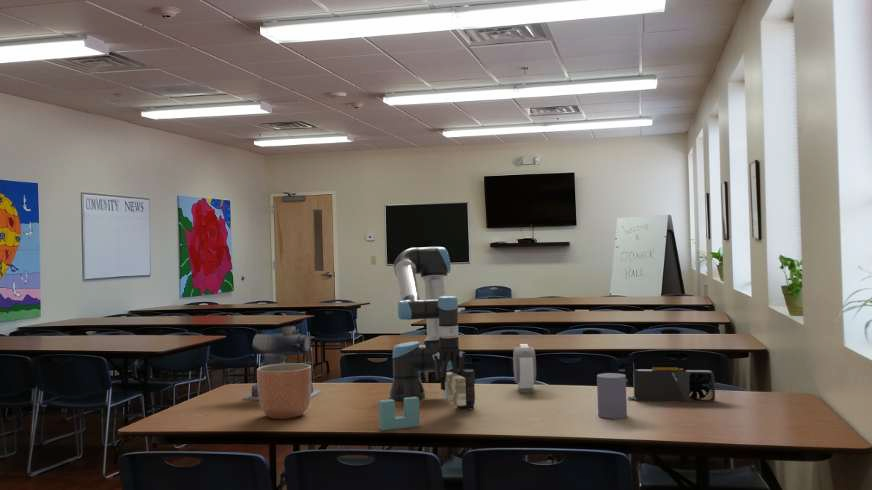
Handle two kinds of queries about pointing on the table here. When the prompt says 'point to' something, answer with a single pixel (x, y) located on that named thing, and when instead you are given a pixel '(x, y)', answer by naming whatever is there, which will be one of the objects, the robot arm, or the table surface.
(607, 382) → the container
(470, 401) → the camera lens
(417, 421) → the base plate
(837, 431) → the table surface
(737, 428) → the table surface
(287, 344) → the grinder
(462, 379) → the upper plate
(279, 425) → the table surface
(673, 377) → the graphics card
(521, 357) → the alarm clock
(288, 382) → the planter
